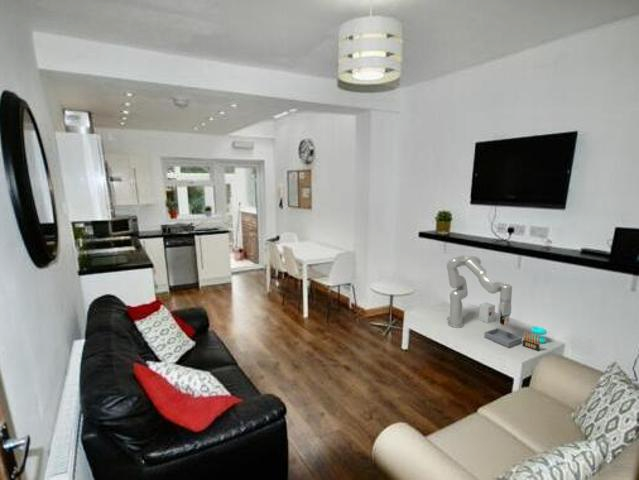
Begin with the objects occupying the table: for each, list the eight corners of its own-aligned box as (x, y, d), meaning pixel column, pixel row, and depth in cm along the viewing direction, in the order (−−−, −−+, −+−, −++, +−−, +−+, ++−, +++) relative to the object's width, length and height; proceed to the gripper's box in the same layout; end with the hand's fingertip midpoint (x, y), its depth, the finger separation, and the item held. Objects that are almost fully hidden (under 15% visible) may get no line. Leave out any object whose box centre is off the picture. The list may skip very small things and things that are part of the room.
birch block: (499, 324, 257) (500, 314, 256) (503, 323, 259) (503, 313, 258) (504, 326, 253) (505, 316, 252) (508, 325, 255) (509, 315, 254)
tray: (484, 337, 264) (484, 332, 263) (497, 332, 271) (497, 327, 270) (508, 348, 246) (508, 342, 246) (521, 343, 254) (522, 337, 253)
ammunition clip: (522, 346, 249) (523, 331, 247) (523, 345, 250) (524, 330, 248) (538, 351, 241) (539, 335, 239) (539, 350, 242) (540, 335, 240)
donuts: (542, 326, 259) (549, 331, 249) (541, 338, 260) (548, 344, 251) (528, 325, 260) (534, 331, 251) (527, 337, 262) (533, 343, 252)
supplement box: (487, 323, 289) (488, 307, 286) (478, 319, 297) (479, 304, 294) (494, 321, 293) (495, 305, 290) (485, 317, 301) (486, 302, 298)
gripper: (507, 296, 260) (506, 318, 263) (493, 301, 252) (492, 323, 255) (517, 299, 253) (515, 322, 257) (503, 304, 246) (501, 327, 249)
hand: (504, 322), depth 256 cm, fingers closed on birch block, 4 cm apart
